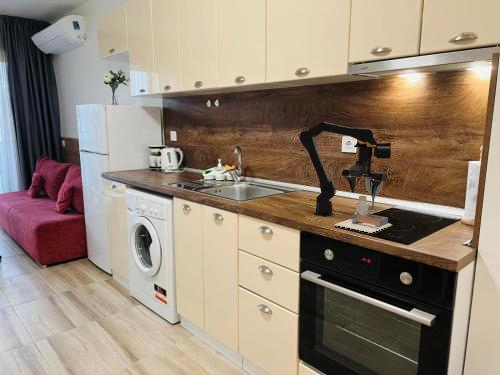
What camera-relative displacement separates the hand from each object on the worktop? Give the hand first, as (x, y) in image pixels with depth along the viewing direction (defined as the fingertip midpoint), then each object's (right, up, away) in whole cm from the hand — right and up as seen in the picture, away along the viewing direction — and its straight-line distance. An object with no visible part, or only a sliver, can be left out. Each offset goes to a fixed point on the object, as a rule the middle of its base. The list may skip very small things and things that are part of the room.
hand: (362, 194), depth 159 cm
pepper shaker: (0, -11, +2) cm, 11 cm away
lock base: (-3, -12, -11) cm, 17 cm away
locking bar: (-3, -12, -13) cm, 18 cm away
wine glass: (+11, -8, +19) cm, 23 cm away
